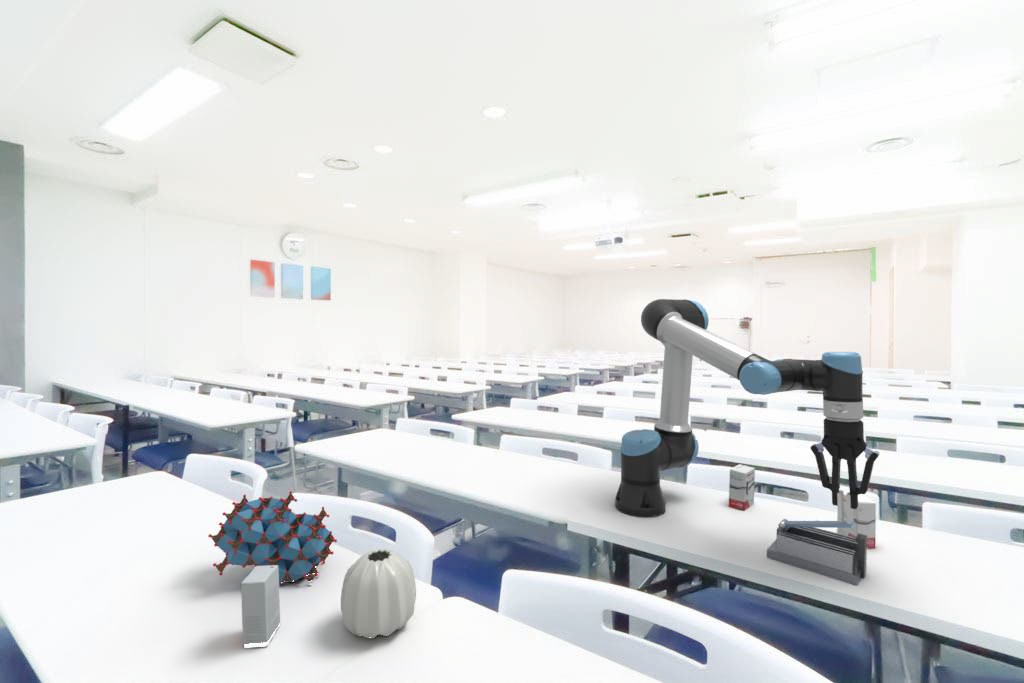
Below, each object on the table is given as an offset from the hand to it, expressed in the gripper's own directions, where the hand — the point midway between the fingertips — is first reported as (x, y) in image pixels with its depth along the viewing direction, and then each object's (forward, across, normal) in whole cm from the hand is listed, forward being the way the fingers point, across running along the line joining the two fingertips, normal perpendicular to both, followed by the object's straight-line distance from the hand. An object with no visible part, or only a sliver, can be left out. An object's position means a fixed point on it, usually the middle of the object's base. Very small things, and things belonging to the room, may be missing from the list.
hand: (845, 520), depth 109 cm
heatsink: (+11, -6, 0) cm, 13 cm away
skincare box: (+9, -72, -102) cm, 125 cm away
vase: (+10, -60, -85) cm, 105 cm away
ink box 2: (+12, -1, +20) cm, 23 cm away
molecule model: (+9, -93, -92) cm, 131 cm away
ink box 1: (+11, -31, +25) cm, 41 cm away
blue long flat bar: (+3, -6, 0) cm, 7 cm away
